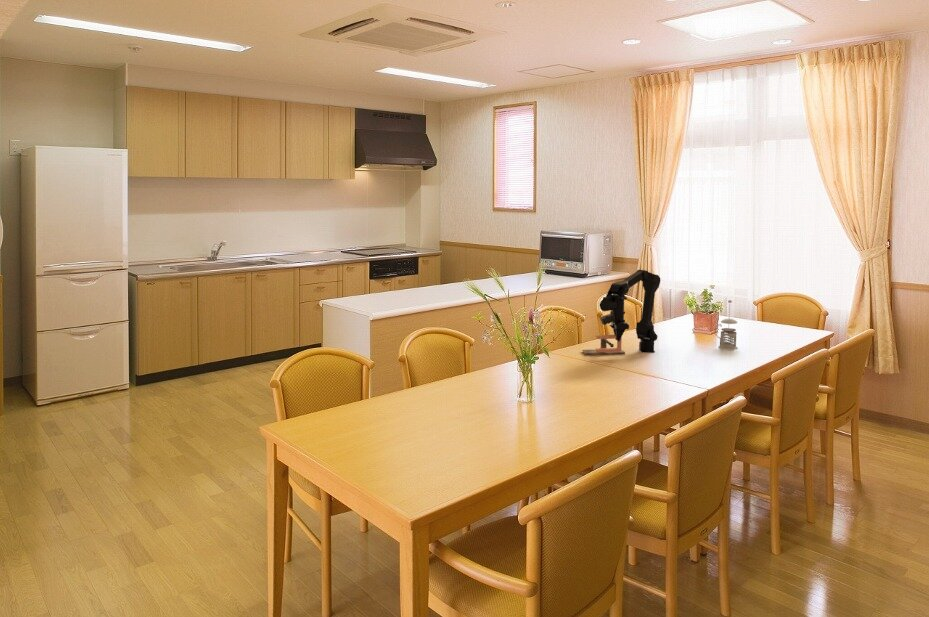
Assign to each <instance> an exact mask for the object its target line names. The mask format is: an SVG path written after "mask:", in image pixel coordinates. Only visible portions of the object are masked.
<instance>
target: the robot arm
mask: <svg viewBox="0 0 929 617" xmlns="http://www.w3.org/2000/svg"><path fill="white" fill-rule="evenodd" d="M639 282H642V288H643V289H644V290H643V291H644V294H643V295H644V296H643V304H642V311H641V319H640V320H639V322H636V325H635V326H636V327H635V334H636V338H637V339H638V340H640V341H639V342H638V344H639V345H638V350H639V351H640V352H641V353H643V352H644V353H656V351H655V342H656V341H658V334H657V333H656V332H655V326H654V323H653V320H652V319H653V318H652V317H653V312H654V311H653V310H654V303H655V296H656V292H657V290H658V289H660V288H659V287H660V284H661V277H660V275H658V274H654V273H652V272H649V271H647V269H637V270H636V271H635V272H634V273H632V274H630V275H629V276H628V277H626V278H625V279H623V280H620V281H615V282H613V283H612V284H610V287H609V289H608V291H607V293H606V295H605V296H603V298H602V300H600V303H599V308H600V310H601V311H602V312H610V313H608V314H605V315H603V316H600V317H599V319H600V323H601V324H602V325H603V326H606V325H607V324H609V327H611V329H612V331H613V335H616V337H617V339H615V340H616V341H620V339H621V337H623V335H624V332H625V331H626V330H629V329H630V325H629V323H628V322H626V320H625V315H626V311H625V300H628V297H627V296H626V294H627V293H629V291H630V288H631V287H633V286H634V285H636V284H638V283H639Z"/></svg>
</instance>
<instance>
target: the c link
mask: <svg viewBox="0 0 929 617" xmlns="http://www.w3.org/2000/svg"><path fill="white" fill-rule="evenodd" d="M622 337H623V336H622ZM622 337H621V339H620V341H617V340H616V339H617V337H616V335H614V334H600V335H598V334H597V335H595V339H596V340H601V339H607V340H611V339H612V340H613V339H614V340H616V341H617V342H616V343H617V344H616V347H606V348H601V347H599V348H598V347H597V348H595V349H596V352H621V349H622V340H623V338H622Z"/></svg>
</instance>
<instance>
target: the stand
mask: <svg viewBox="0 0 929 617" xmlns="http://www.w3.org/2000/svg"><path fill="white" fill-rule="evenodd" d="M607 345H608V346H610V347H609V348H615V347H614V344H613V343H611V342H610V341H609V339H600V348H607ZM581 351H583V352H582V354H583V355H584V356H585V355H589V356H615V355H614V354H625V355H626V351H624V350H623V349H622V348H621V352H596V348H595V349H581Z"/></svg>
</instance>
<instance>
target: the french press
mask: <svg viewBox="0 0 929 617" xmlns="http://www.w3.org/2000/svg"><path fill="white" fill-rule="evenodd" d="M727 303H729V304H731V303H733V301H732V300H731V299H729V300H727ZM728 310H729V312H728V318H723V319H722V320H720V323H719V324H717V325H716V326H715V328H714V334H715V336H716V337H717V338H718V339H719V346H717V348H718V349H720V350H727V351H728V350H730V351H731V350H732V351H733V350H738V346H737V333H738V332H736V331H737V330H736V328H731V327H723V328H722V326H723V325H722V324H728V325H735V324H738V321H737V320H735V319H733V318H730V313H731V306H729V308H728ZM719 326H720V328H721V331H720V336H718V335H717V328H718V327H719Z"/></svg>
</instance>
